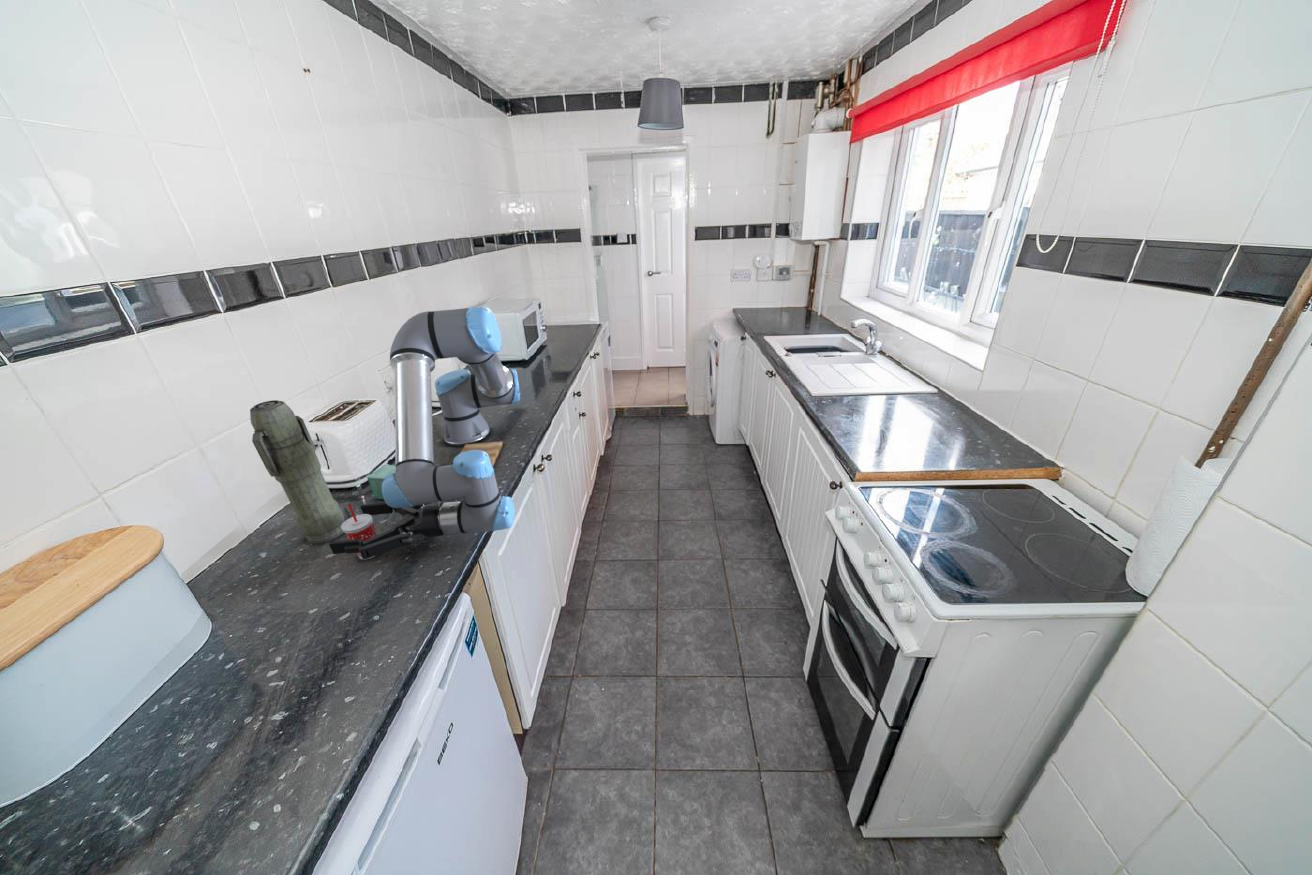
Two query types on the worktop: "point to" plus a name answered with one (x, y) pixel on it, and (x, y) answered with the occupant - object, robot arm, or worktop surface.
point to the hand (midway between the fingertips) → (348, 528)
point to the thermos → (296, 469)
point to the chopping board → (485, 449)
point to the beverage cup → (359, 528)
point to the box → (380, 479)
